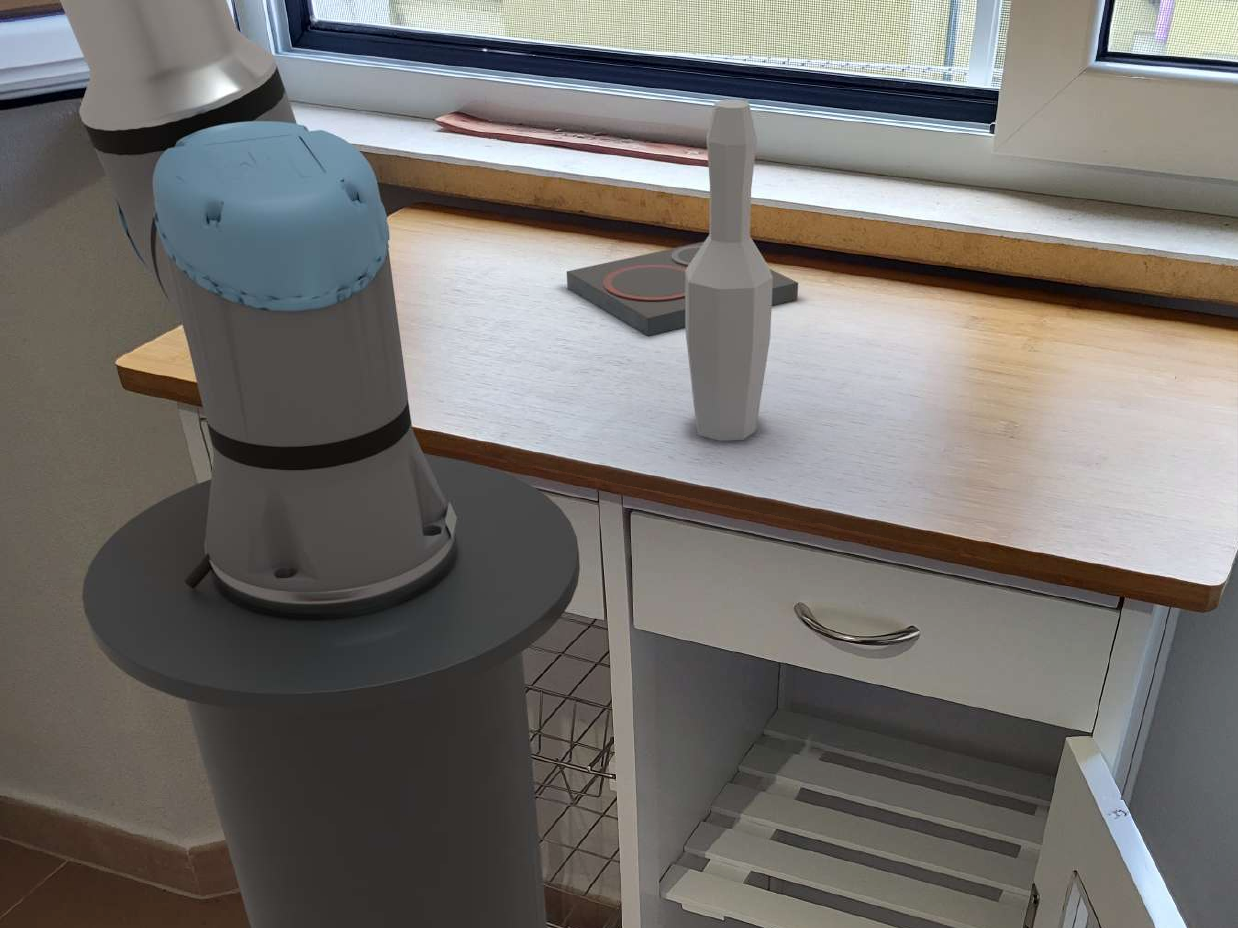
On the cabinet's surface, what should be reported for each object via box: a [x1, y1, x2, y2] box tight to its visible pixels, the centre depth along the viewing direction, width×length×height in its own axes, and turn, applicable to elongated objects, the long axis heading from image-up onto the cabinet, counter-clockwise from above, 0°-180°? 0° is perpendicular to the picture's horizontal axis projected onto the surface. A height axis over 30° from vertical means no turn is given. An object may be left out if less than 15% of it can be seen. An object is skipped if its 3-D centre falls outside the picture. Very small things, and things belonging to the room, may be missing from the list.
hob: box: [566, 241, 799, 337], centre depth 128 cm, size 16×14×2 cm
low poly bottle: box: [684, 98, 773, 442], centre depth 100 cm, size 6×6×22 cm
